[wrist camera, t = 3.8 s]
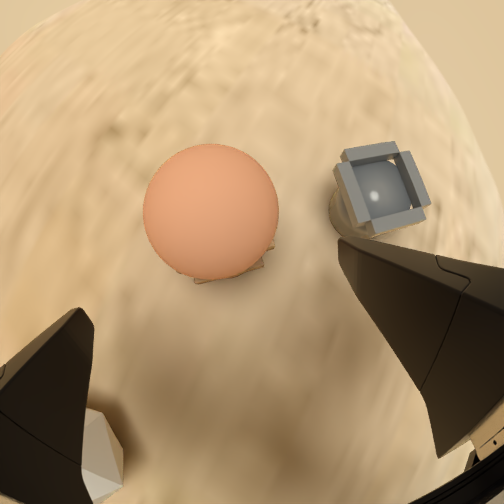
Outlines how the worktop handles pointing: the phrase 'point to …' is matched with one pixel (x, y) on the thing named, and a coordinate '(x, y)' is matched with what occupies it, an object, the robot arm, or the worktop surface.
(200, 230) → the peach ball
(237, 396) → the worktop surface
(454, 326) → the robot arm
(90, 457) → the die
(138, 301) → the worktop surface
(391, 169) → the slate cup
